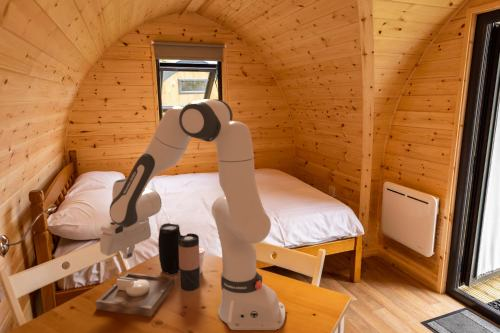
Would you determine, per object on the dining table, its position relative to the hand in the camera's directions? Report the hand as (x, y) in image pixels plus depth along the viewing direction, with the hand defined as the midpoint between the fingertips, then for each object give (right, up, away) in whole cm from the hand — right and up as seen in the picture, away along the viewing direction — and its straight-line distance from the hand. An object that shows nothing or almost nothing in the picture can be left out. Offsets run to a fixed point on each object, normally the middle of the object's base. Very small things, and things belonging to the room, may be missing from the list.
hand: (127, 257), depth 125 cm
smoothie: (+23, -10, +15) cm, 30 cm away
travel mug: (+22, -12, +5) cm, 26 cm away
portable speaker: (+12, -10, +16) cm, 23 cm away
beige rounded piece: (+3, -11, -2) cm, 12 cm away
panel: (+5, -13, -2) cm, 14 cm away
